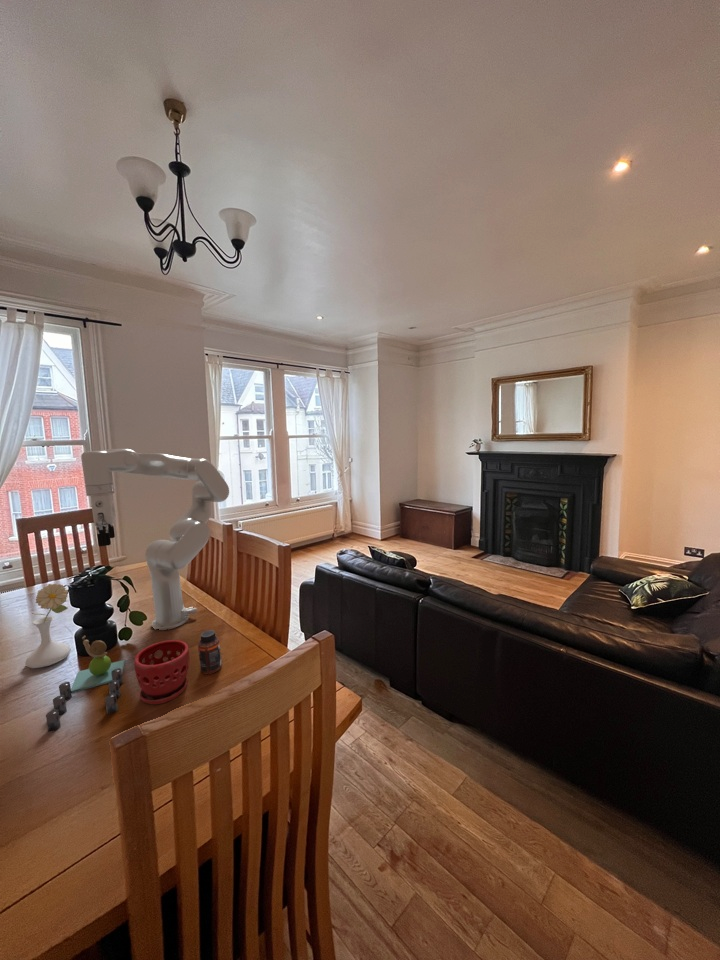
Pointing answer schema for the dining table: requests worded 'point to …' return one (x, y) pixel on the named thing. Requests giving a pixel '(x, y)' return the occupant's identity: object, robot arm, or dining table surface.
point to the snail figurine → (97, 657)
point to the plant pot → (162, 671)
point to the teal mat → (94, 677)
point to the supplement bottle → (209, 652)
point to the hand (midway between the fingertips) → (107, 541)
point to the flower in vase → (48, 648)
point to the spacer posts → (66, 694)
